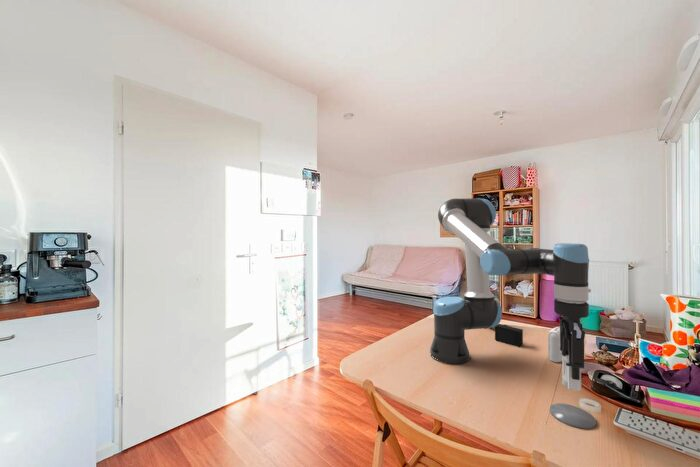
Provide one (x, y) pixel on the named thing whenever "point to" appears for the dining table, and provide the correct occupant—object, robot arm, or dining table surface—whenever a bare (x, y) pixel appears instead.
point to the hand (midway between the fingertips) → (571, 384)
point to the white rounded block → (554, 345)
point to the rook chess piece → (566, 373)
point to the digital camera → (509, 335)
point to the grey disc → (572, 416)
